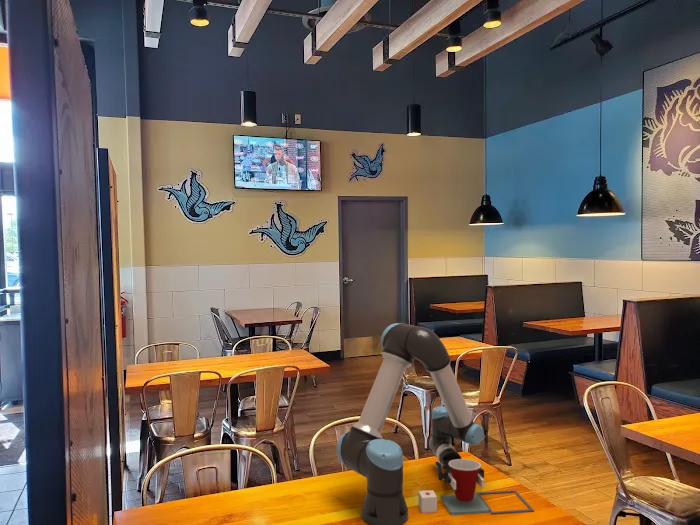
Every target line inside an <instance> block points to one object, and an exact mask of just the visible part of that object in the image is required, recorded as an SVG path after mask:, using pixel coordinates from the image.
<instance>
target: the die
mask: <svg viewBox="0 0 700 525" xmlns="http://www.w3.org/2000/svg"><path fill="white" fill-rule="evenodd" d="M417 491H418V490H417ZM417 493H418V494H417V495H418V497H417V498H418V504H417V505H418V507H419V510H420V512H421V513H423V514H425V513H437V512H438V496H437V495H436V493H435V491H434V490H433V489H432V490H430V489H429V490H419V491H418V492H417Z"/></svg>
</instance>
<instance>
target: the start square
mask: <svg viewBox="0 0 700 525" xmlns="http://www.w3.org/2000/svg"><path fill="white" fill-rule="evenodd" d="M514 492H515V493H516V494H515V493H514ZM476 493H477V494H478V496H479V497H480V498H481V500H482V501H483V502H484V504H485V505H486V506H487V508H488V509H489V514H490V515H501V514H502V515H503V514H505V515H506V514H517V513H521V514H522V513H534V512H535V509H534V508H533V507H532V506H531V505H530V504H529V503H528V502H527V500H526V499H524V497H523V496H522V495H521V494H520V493H519V492H518V491H517V490H515V489H514V490H513V489H512V490H496V491H483V492H482V491H479V492H476ZM512 493H513V494H515V495H516V496H517V498H518V499H520V500H521V502H522V503H523V504H524V505H525V506H526V507H527V508H528V509H526V508H525V509H516V510H515V509H514V510H497V511H493V510H492V509H491V507H490V506H489V505H488V503H487V502H486V501H485V499H484V498H483V496H484V495H500V494H512ZM482 495H483V496H482Z"/></svg>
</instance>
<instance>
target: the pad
mask: <svg viewBox="0 0 700 525" xmlns="http://www.w3.org/2000/svg"><path fill="white" fill-rule="evenodd" d="M440 499H441V501H442V502H443V504H444V505H445V507H446V509H447V511H448V512H449V514H450V515H451V516H455V515H473V514H485V513H486V514H487V513H488V514H490V512H489V509H488V508H487V506H486V505H485V504H484V502H483V501H482V500H481V498H480V497H479V496H478V494H477V492H476V493H474V498H473V500H472V501H470V502H463V501H459V500H458V499H457V498H456V495H455V494H446V495H444V494H443V495H440Z"/></svg>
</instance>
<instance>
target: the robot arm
mask: <svg viewBox="0 0 700 525" xmlns="http://www.w3.org/2000/svg"><path fill="white" fill-rule="evenodd" d="M380 343H381V344H380V345H381V347H382V352H381V356H382V358H383V360H382V362H381V365H380V367H379V369H378V372H377V374H376V378H375V379H374V381H373V384H372V387H371V389H370V392H369V394H368V396H367V399H366V402H365V404H364V407H363V409H362V411H361V414H360V417H359V419H358V421H357V422H356V423H354V424H351V427H350V429H349V431H345V432H344V433H343V434H341V436H340V437H339V438H338V441H337V444H336V456H337V458H338V460H339V462H340V463H341V464H342V465H343V466H345V468H346V469H348V470H352V471H353V472H355V473H357V474H360V475H361V476H362V477H364V478H366V494H365V496H364V497H365V498H364V499H363V503H362V505H361V518H362V520H363V521H364V522H365V523H367V524H368V525H403V524H405V523H406V522H407V521H408V519H409V509H408V508H409V507H408V505H407V502H406V499H405V495H404V492H403V491H404V488H403V487H404V486H403V485H404V484H403V483H404V457H403V450H402V448H401V446H400V445H399V444H398V443H396V442H395V441H393V440H391V439H385V438H383V436H382V431H383V430H382V429H383V427H384V424H385V422H386V419H387V417H388V415H389V413H390V409H391V407H392V404H393V402H394V400H395V396H396V394H397V392H398V390H399V387H400V384H401V383H402V382H401V381H402V378H403V377H404V373H405V371H406V369H408V368H410V367H411V366H412V365H413V363H414V361H415V360H416V361H419V362H420V363H421V364H422V366H423V367H424V369H425V371H426V372H427V373H428V372H429V374H430V376H431V378H432V380H433V383H434V385H435V388H436V391H438V394H439V397H440V399H441V402H442V404H443V406H442V405H441V406H436V407H433V409H432V411H431V412H432V413H431V437H430V439H429V443H428V445H429V449H430V450H431V453H433V455H434V456H435V458H436V459H437V460H438V461H435V464H434V465H435V467H434V469H435V470H436V471H437V477H438V478H437V479H438V480H439V481H443V483H446V484H449V485H450V486H451V488H452V489H453V490H454V491H455V490H456V481H455V479H454V478H453V476H452V473H451V469H450V466H449V464H448V463H449V461H451V460H455V459H463V458H462V457H461V456H462V455H461V454H460V453H459V452H458V451H457V449H456V448H455V447H454V446H453V445H452V438H453V439H457V440H459V441H461V442H463V443H465V444H469V445H473V446H478V445H479V444H480V443H481V442H482V441H483V439H484V435H485V434H484V433H485V432H484V428H483V427H482V426H481V425H480V424H478V423H476V422H475V421H474V420H473V417H472V415H471V412H470V410H469V407H468V406H467V405H468V404H467V402H466V400H465V398H464V396H463V392H462V391H461V388H460V386H459V383H458V381H457V379H456V376H455V373H454V372H453V369H452V366H451V361H452V360H451V356H450V354H449V352H448V350H447V348H446V346H445V345H444V343H443V341H442V340H441V339H440V337H439V336H438V335H437V334H436V332H434V331H432V329H429V328H428V327H426V326H425V327H424V326H419V325H414V324H408V323H405V322H400V323H399V322H396V323H392V324H390V325H388V326H387V327H386V328H385V329H384V330H383V332H382V335H381V338H380ZM442 469H444V473H443V470H442ZM484 478H485V469H484V468H482V467H480V469H479V472H478V475H477V481H476V484H477V485H479V487H480V488H481V489H484V488H485V479H484Z"/></svg>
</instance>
